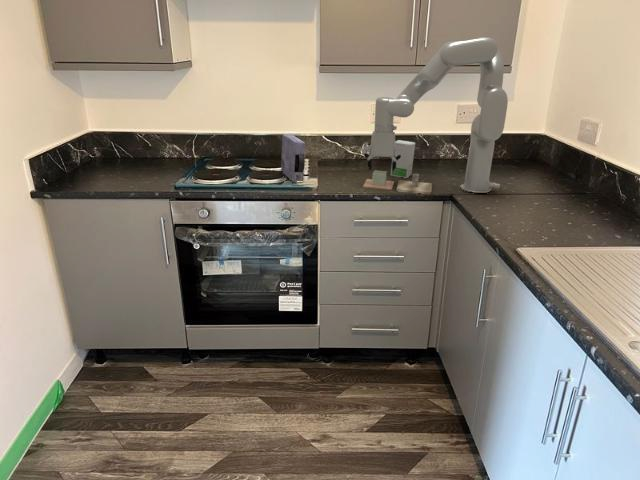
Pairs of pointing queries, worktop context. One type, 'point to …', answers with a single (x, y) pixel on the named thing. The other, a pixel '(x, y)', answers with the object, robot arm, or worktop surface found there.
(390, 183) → the terracotta tile
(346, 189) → the worktop surface
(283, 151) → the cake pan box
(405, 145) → the skincare box
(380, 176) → the grey green cube
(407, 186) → the post stand
